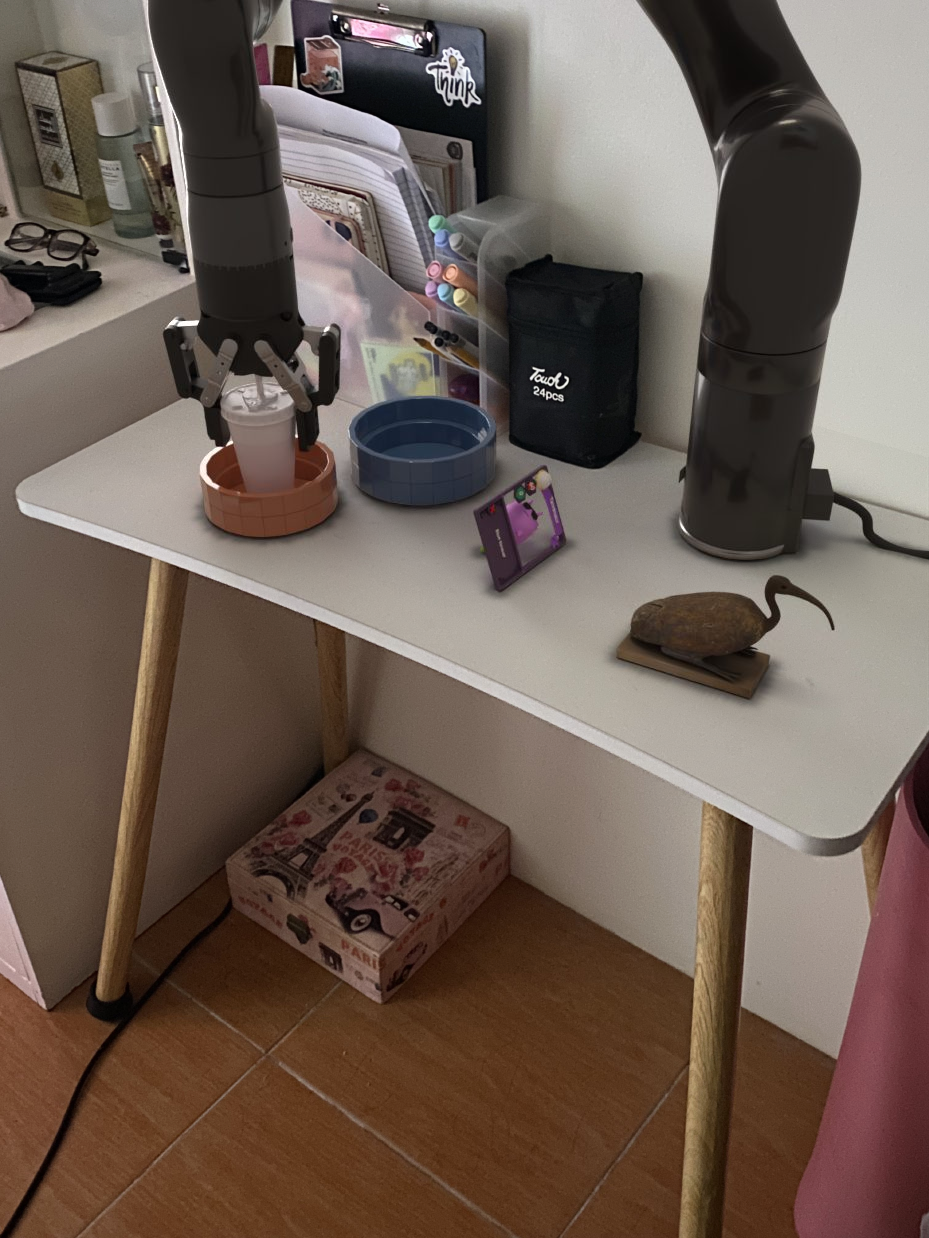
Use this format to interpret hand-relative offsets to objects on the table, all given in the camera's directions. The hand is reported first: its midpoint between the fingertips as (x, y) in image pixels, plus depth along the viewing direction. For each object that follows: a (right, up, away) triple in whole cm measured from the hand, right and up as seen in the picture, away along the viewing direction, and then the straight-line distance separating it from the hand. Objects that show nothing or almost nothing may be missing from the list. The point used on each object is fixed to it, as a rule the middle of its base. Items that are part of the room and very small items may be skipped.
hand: (265, 444), depth 101 cm
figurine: (+34, -18, -16) cm, 42 cm away
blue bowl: (+13, -1, +8) cm, 15 cm away
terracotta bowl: (0, -5, +3) cm, 6 cm away
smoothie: (0, -5, +3) cm, 6 cm away
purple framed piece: (+20, -10, -4) cm, 23 cm away
